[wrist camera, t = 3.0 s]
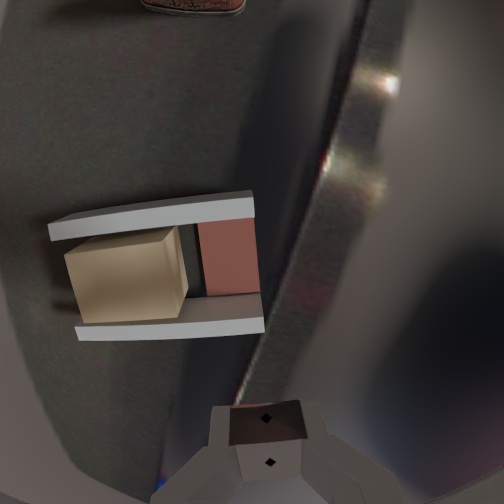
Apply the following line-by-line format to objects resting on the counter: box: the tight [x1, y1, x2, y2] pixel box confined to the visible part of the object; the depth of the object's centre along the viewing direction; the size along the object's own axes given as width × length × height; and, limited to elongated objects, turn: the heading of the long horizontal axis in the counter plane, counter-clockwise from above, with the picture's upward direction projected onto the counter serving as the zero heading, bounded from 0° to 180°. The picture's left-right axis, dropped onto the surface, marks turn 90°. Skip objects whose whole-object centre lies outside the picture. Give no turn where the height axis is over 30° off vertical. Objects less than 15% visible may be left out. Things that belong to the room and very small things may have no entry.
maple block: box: [64, 225, 188, 323], centre depth 22 cm, size 5×7×5 cm
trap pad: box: [197, 217, 260, 296], centre depth 24 cm, size 6×4×1 cm, turn 5°
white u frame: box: [48, 190, 265, 341], centre depth 22 cm, size 9×14×4 cm, turn 95°
